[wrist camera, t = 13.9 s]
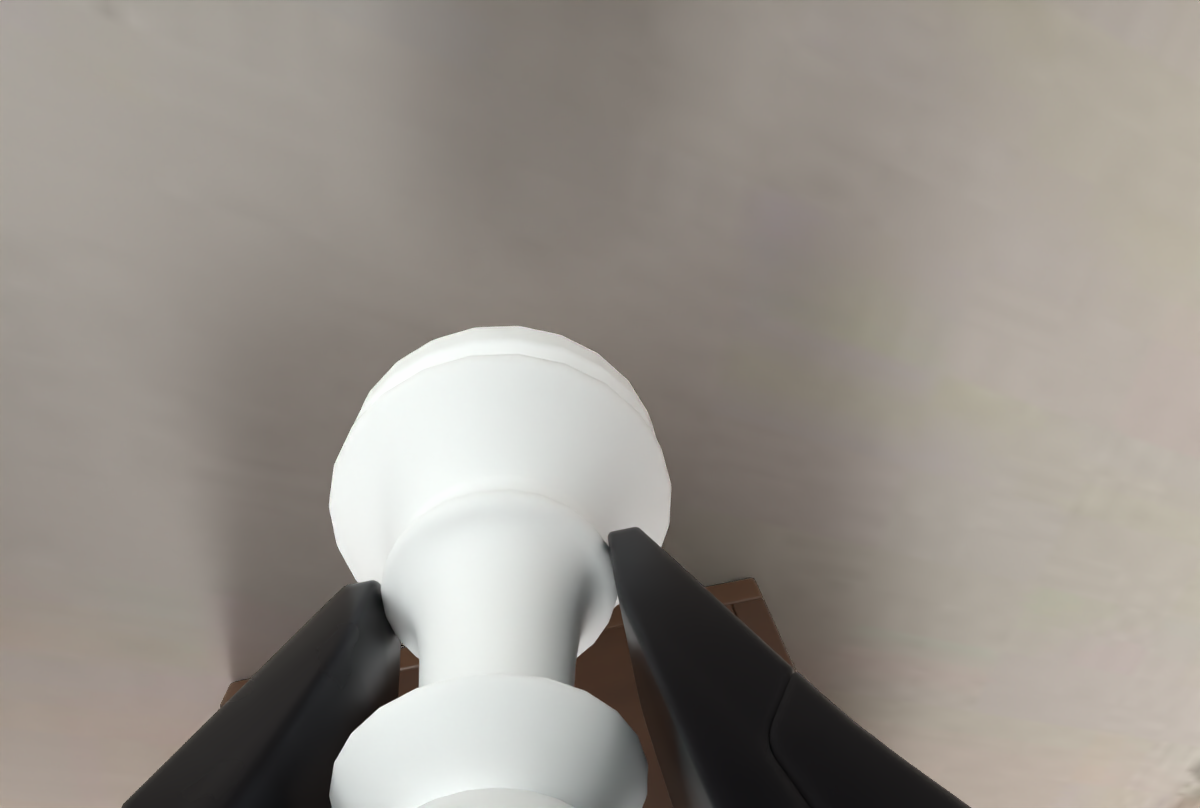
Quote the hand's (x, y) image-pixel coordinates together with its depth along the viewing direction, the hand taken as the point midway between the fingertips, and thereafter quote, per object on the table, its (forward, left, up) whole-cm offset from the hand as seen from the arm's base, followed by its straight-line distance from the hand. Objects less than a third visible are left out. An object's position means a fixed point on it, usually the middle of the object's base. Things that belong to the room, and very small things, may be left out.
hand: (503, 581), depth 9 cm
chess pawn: (0, 0, -3) cm, 3 cm away
